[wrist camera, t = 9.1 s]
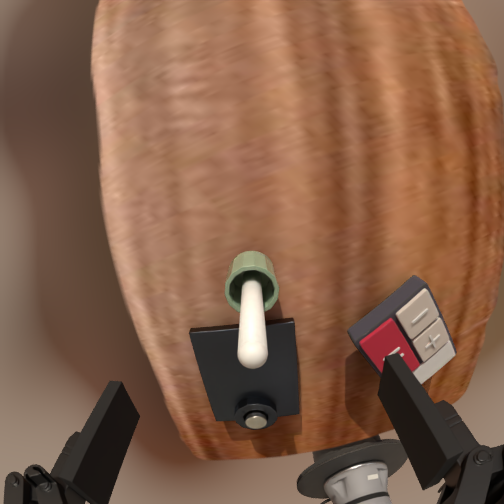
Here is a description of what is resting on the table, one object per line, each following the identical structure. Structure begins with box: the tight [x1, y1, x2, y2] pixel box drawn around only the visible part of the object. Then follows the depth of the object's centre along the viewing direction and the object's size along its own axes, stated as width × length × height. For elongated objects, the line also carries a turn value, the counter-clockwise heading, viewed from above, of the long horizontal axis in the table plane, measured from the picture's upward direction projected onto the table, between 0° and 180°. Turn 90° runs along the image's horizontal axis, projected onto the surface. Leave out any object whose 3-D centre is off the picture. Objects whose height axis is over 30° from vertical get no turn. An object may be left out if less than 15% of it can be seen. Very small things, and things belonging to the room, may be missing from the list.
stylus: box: [238, 270, 268, 369], centre depth 22 cm, size 2×2×15 cm
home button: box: [245, 410, 267, 429], centre depth 32 cm, size 3×3×1 cm
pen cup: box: [225, 251, 279, 313], centre depth 27 cm, size 5×5×5 cm
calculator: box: [347, 275, 457, 384], centre depth 30 cm, size 11×4×15 cm
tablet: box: [189, 317, 299, 430], centre depth 32 cm, size 17×12×2 cm
